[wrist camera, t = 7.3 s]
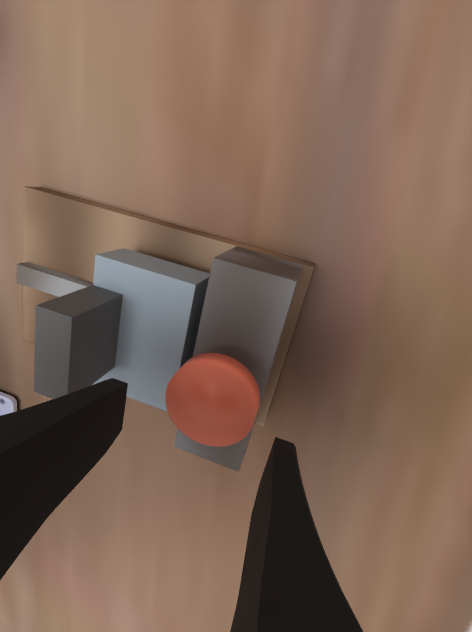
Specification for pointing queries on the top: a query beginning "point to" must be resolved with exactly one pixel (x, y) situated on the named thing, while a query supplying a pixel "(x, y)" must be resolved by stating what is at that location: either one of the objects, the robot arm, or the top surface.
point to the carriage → (121, 327)
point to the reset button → (213, 399)
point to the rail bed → (184, 249)
